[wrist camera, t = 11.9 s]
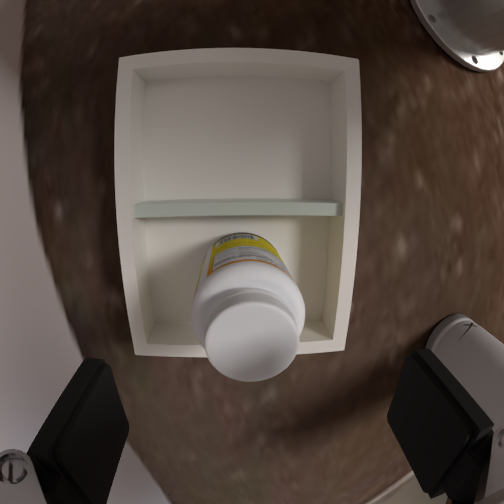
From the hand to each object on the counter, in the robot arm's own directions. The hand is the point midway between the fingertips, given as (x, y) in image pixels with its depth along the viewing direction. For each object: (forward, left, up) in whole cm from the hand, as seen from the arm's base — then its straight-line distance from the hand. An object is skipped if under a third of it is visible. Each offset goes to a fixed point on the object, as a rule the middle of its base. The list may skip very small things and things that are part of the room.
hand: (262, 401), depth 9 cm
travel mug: (+9, +21, -15) cm, 27 cm away
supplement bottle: (0, 0, -14) cm, 14 cm away
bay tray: (-4, 0, -15) cm, 15 cm away
